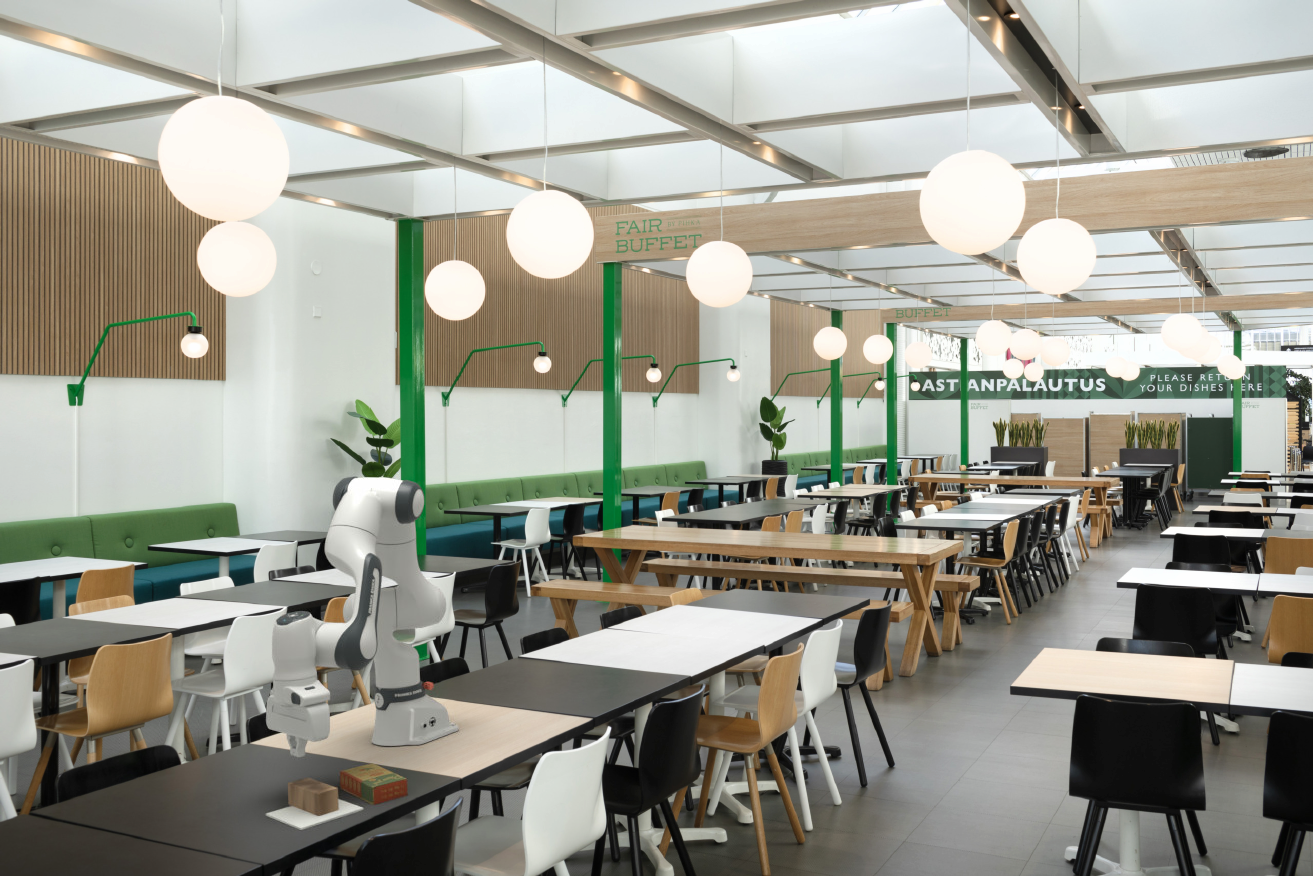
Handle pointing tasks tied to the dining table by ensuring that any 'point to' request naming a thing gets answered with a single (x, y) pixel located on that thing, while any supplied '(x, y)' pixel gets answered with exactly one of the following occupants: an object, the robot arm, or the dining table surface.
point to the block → (313, 796)
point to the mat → (311, 815)
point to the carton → (373, 783)
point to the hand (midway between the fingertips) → (297, 755)
